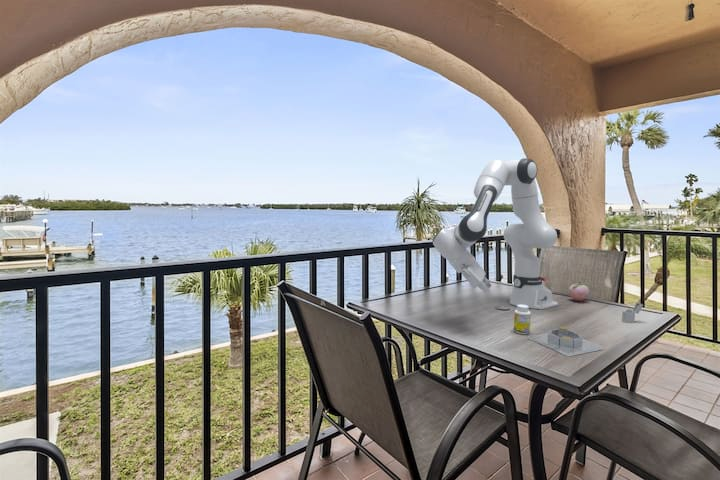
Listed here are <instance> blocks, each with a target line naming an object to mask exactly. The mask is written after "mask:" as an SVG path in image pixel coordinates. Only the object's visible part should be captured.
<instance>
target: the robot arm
mask: <svg viewBox="0 0 720 480" xmlns="http://www.w3.org/2000/svg"><path fill="white" fill-rule="evenodd" d="M537 176H538V165H537V162H535V160H533V159H531V158H527V157H526V158H525V157H524V158H520V159H519V158H518V159H517V158H515V159H508V160H505V161H503V160H501V159H493V160H491V161H489V162H488V163H487V165H486V166H485V167H484V168H483V170H482V172H481V173H480V174H479V176H478V178H477V180H476V182H475V185H474V189H473V195H474V197H475V198H476V200H475V202H474V204H473V207H472V209H471V211H470V212H469V213H468V214H466V215H465V216H464V217H463V218H462V219H461V220H460V222H459V223H458V225H455V226H451V227H441V229H440V230H438V231H437V233H436V234H435V235H434V236H433V239H432V244H433V246H434V248H435V249H436V251H437V252H438V253H439V254H440V255H441V256H442V257H443V258H444V259H446V260H447V261H448V262H449V265H450V266H451V267H452V268H453V269H454V270H455V271H456V272H457V273H458V274H460V273H461V275H462V276H463V277H464V279H465V280H466V281H467V282H468V284H470V286H471V287H473V288H474V289H476V288H478V289H480V290H481V291H483V292H484V293H485V294H486V295H487V294H488V293H490V288H492V284H491V282H489V280H488V278H487V276H486V273H487V272H485V269H483V267H482V266H481V265H480V264H479V262H478V261H477V260H476V257H475V256H474V255H473V254H472V253H471V252H470V251H469V250H468V249H467V248H470V247H471V246H473V245H474V244H475V243H476V242H477V241H479V240H481V239H483V238H484V236H485V235H486V233H487V229H488V225H487V224H488V216H489V213H490V211H491V210H492V206H493V204H494V202H496V200H497V199H498V198H499V197H500V195H501V194H502V191H503V190H504V187H505V186H511V188H510V190H511V191H510V192H511V193H510V194H511V203H512V210H513V214H514V216H516V217H517V218H518V219H520V221H521V222H522V223H513V224H508V225H507V226H506V227H505V229H504V231H503V239H504V240H505V242H506V243H507V244H508V245H509V246H510V248H511V250H512V254H513V257H514V274H513V277H512V282H513V285H512V288H511V296H510V298H509V304H510V305H513V306H516V307H517V305H527V306H528V307H529V309H535V310H544V309H548V308H552V307H555V306H558V305H559V303H558V301H555V300H554V297H553V292H552V291H551V290H550V289H549V288H548V287H547V286H545V285H544V284H543V282H547V277H546V276H541V259H540V258H539V257H538V256H537V255H535V253H534V252H533V248H534V249H549V248H553V247H554V245H556V244H557V240H558V234H557V233H558V232H557V230H556V229H555V228H554V227H552V226H551V225H550V224H549V223H548V221H547V220H546V219H545V218H544V216H543V214H542V211H541V208H540V207H541V206H540V200H539V193H538V187H537V186H538V185H537V182H536V177H537Z"/></svg>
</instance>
